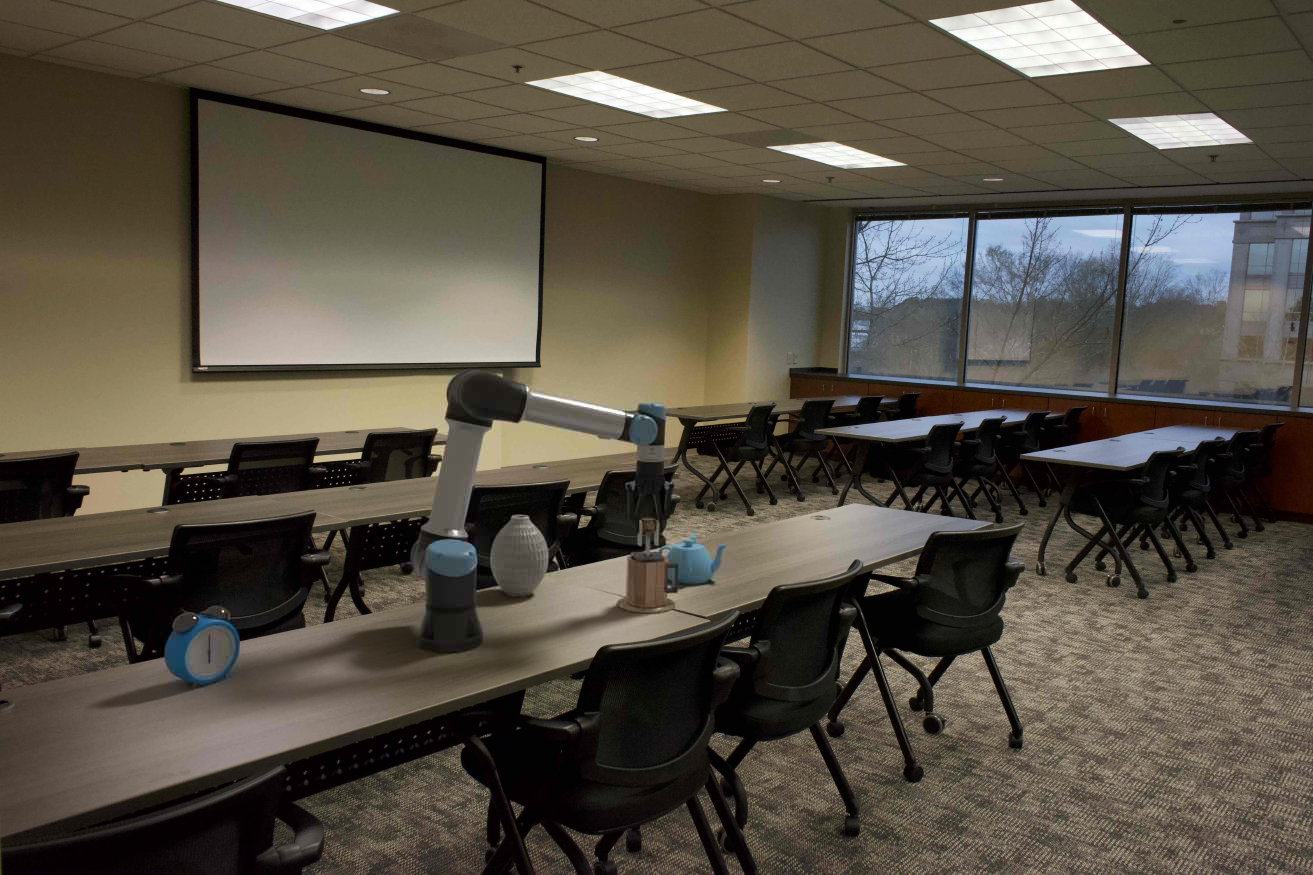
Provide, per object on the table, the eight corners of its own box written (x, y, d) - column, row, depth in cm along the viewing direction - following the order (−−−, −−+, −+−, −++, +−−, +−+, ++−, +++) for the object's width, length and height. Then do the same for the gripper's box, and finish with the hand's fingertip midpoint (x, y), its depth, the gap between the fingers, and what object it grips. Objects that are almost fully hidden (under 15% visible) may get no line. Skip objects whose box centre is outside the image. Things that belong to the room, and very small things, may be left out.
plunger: (635, 595, 251) (637, 522, 249) (631, 587, 258) (633, 517, 256) (662, 594, 252) (664, 521, 250) (657, 587, 260) (659, 516, 258)
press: (622, 614, 246) (623, 562, 245) (613, 597, 262) (614, 549, 260) (682, 612, 249) (684, 561, 248) (670, 596, 265) (671, 548, 264)
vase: (486, 587, 269) (487, 511, 267) (541, 584, 274) (543, 510, 272) (494, 602, 253) (495, 522, 251) (552, 599, 258) (554, 520, 256)
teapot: (729, 581, 285) (731, 542, 283) (682, 589, 273) (683, 548, 272) (693, 569, 298) (695, 532, 297) (647, 577, 287) (648, 538, 286)
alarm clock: (181, 694, 183) (179, 619, 181) (163, 687, 186) (161, 614, 185) (241, 675, 194) (240, 605, 193) (223, 669, 197) (222, 600, 196)
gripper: (621, 461, 246) (619, 548, 249) (684, 461, 250) (681, 547, 252) (617, 458, 254) (615, 542, 256) (678, 458, 257) (675, 541, 259)
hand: (648, 544), depth 254 cm, fingers closed on plunger, 4 cm apart
